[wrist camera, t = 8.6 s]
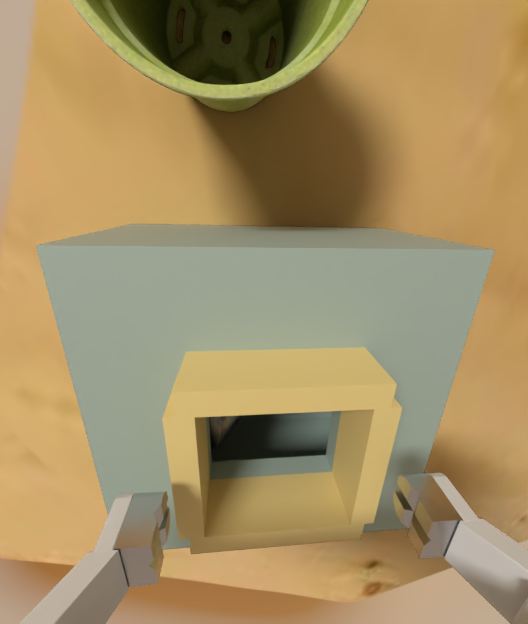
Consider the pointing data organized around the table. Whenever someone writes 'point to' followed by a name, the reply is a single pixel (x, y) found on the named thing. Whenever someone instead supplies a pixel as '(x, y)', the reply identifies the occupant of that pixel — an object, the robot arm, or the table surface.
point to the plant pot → (213, 51)
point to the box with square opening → (262, 369)
